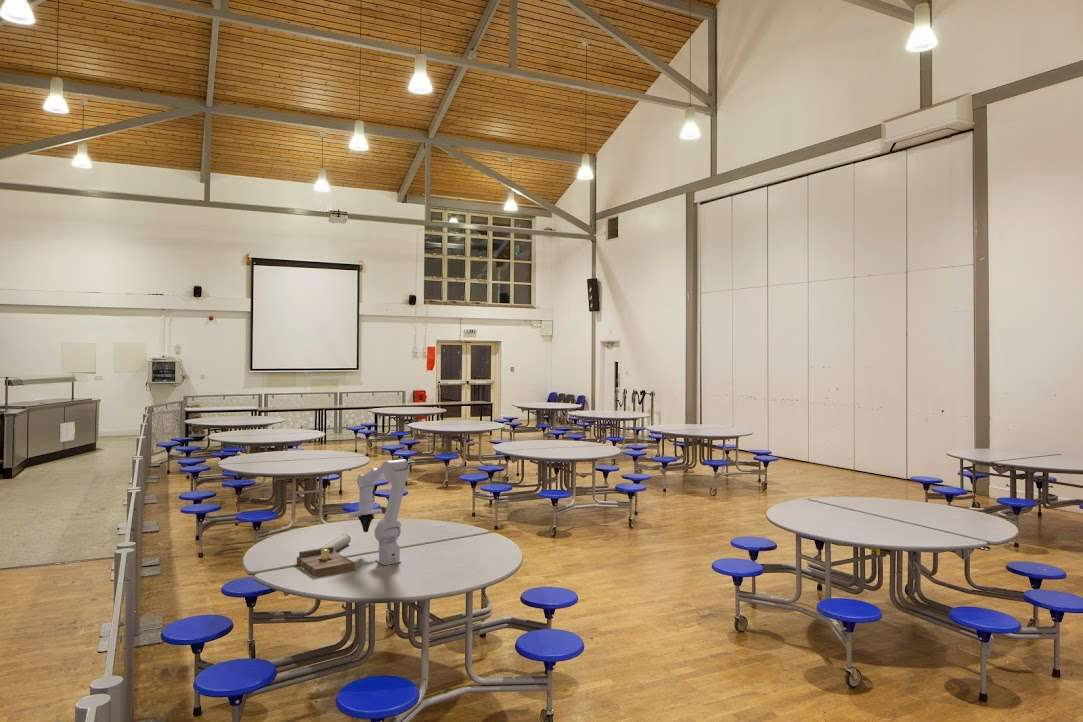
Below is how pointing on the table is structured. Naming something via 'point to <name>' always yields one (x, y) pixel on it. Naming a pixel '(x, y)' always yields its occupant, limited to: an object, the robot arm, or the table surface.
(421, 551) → the table surface
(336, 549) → the tube
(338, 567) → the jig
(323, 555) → the brass cylinder
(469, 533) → the table surface
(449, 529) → the table surface
